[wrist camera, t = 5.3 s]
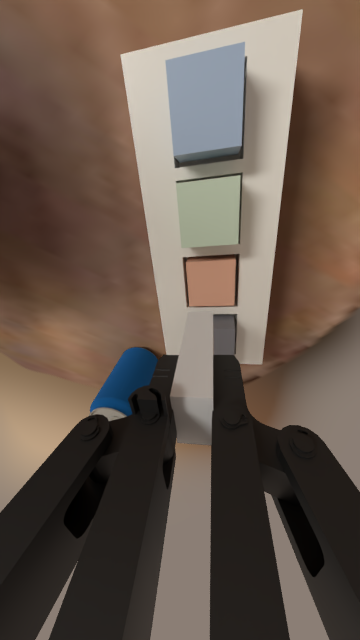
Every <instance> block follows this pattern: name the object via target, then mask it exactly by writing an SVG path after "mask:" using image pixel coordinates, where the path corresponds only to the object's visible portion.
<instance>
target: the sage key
mask: <svg viewBox="0 0 360 640" xmlns="http://www.w3.org/2000/svg"><path fill="white" fill-rule="evenodd" d="M240 177H241V175H238V176H230V177H222V178H214V179H206V180H198V181H190V182H183V183H176V190H177V202H178V213H179V225H180V237H181V248H191V247H205V246H219V245H233V244H238V234H239V206H240Z"/></svg>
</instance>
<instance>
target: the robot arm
mask: <svg viewBox="0 0 360 640" xmlns="http://www.w3.org/2000/svg"><path fill="white" fill-rule="evenodd" d="M128 401H129V404H130V407H131V411H132V414H131V415H129V416H127V417H124V418H120V419H116V420H112V421H108V418H107V417H105V416H104V415H100V414H95V415H91V416H88V417H86V418H84V419H83V420H81V421H80V422H79V423H78V424H77V425H76V426H75V427H74V428H73V429H72V430H71V432H70V433H69V434H68V435H67V436H66V437H65V439H64V440H63V441H62V442H61V443H60V444H59V445H58V447H57V448H56V449H55V450H54V451H53V453H52V454H51V455H50V456H49V457H48V458H47V459H46V461H45V462H44V463H43V464H42V465H41V466H40V467H39V469H38V470H37V471H36V472H35V473H34V474H33V476H32V477H31V478H30V479H29V480H28V481H27V482H26V484H25V485H24V486H23V487H22V488H21V489H20V491H19V492H18V493H17V494H16V495H15V496H14V498H13V499H12V500H11V501H10V502H9V503H8V504H7V506H6V507H5V508H4V509H3V510H2V511H1V513H0V640H35V639H36V637H37V636H38V633H39V632H40V630H41V628H42V626H43V624H44V622H45V621H46V619H47V617H48V615H49V613H50V611H51V609H52V608H53V606H54V604H55V602H56V600H57V598H58V597H59V595H60V593H61V591H62V589H63V587H64V585H65V584H66V582H67V580H68V578H69V576H70V574H71V572H72V571H73V569H74V567H75V565H76V563H77V565H76V568H75V570H74V573H73V576H72V579H71V581H70V584H69V587H68V589H67V592H66V595H65V598H64V600H63V603H62V605H61V608H60V611H59V613H58V616H57V619H56V622H55V624H54V627H53V629H52V632H51V635H50V638H49V640H150V636H151V628H152V622H153V615H154V607H155V601H156V594H157V586H158V579H159V572H160V565H161V559H162V551H163V544H164V537H165V530H166V523H167V516H168V509H169V502H170V494H171V488H172V480H173V474H174V467H175V460H176V453H175V443H176V437H177V442H178V443H187V444H200V445H211V454H212V455H211V565H210V566H211V567H210V568H211V569H210V573H211V574H210V640H290V638H289V633H288V626H287V621H286V615H285V609H284V603H283V598H282V592H281V586H280V580H279V575H278V569H277V563H276V557H275V552H274V546H273V540H272V534H271V529H270V523H269V518H268V511H267V506H266V500H265V494H264V491H265V492H267V493H269V494H271V495H272V498H273V500H274V503H275V505H276V508H277V510H278V513H279V515H280V518H281V520H282V523H283V525H284V528H285V530H286V533H287V535H288V538H289V540H290V543H291V545H292V548H293V550H294V553H295V555H296V558H297V560H298V562H299V565H300V568H301V570H302V572H303V575H304V577H305V580H306V582H307V585H308V587H309V590H310V592H311V595H312V597H313V600H314V602H315V605H316V607H317V610H318V612H319V615H320V617H321V620H322V622H323V625H324V627H325V630H326V632H327V635H328V637H329V639H330V640H360V492H359V490H358V489H357V487H356V486H355V485H354V483H353V482H352V481H351V479H350V478H349V476H348V475H347V474H346V472H345V471H344V469H343V468H342V467H341V465H340V464H339V462H338V461H337V460H336V458H335V457H334V455H333V454H332V453H331V451H330V450H329V448H328V447H327V446H326V444H325V443H324V442H323V441H322V440H321V438H320V437H318V435H317V434H315V433H314V432H312V431H311V430H309V429H307V428H304V427H301V426H298V425H289V426H287V427H284V428H283V429H282V430H278V429H275V428H272V427H269V426H267V425H264V424H262V423H260V422H259V421H257V420H256V419H255V418H254V417H253V416H252V415H251V414H250V412H249V411H248V408H247V405H246V400H245V393H244V387H243V381H242V375H241V369H240V363H239V361H238V360H237V358H236V357H235V356H234V355H214V336H213V311H198V312H188V316H187V321H186V325H185V330H184V334H183V339H182V343H181V348H180V352H179V355H163V356H162V357H161V358H160V359H159V360H158V361H157V364H156V367H155V371H154V373H153V377H152V379H151V382H150V384H149V385H147V386H143V387H140V388H138V389H136V390H135V391H134V392H132V393H131V395H130V396H129V398H128ZM77 561H78V562H77Z"/></svg>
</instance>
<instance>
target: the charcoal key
mask: <svg viewBox="0 0 360 640" xmlns="http://www.w3.org/2000/svg"><path fill="white" fill-rule="evenodd" d="M213 336H214V355H234V350H235V324H234V317H233V315H213Z"/></svg>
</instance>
